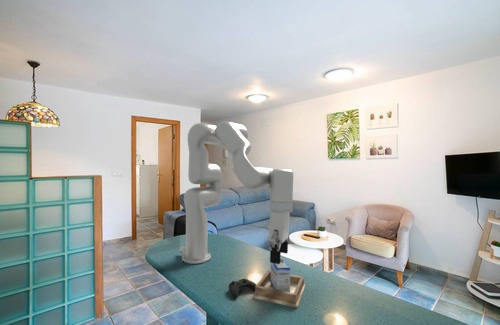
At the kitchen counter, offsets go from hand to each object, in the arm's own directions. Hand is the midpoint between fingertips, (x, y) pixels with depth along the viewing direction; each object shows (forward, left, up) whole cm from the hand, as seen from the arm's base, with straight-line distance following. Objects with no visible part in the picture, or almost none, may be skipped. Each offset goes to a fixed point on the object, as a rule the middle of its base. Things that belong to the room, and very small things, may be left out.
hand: (279, 257), depth 81 cm
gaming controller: (-11, -5, -12) cm, 17 cm away
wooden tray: (+1, 0, -11) cm, 11 cm away
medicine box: (0, 0, -11) cm, 11 cm away
